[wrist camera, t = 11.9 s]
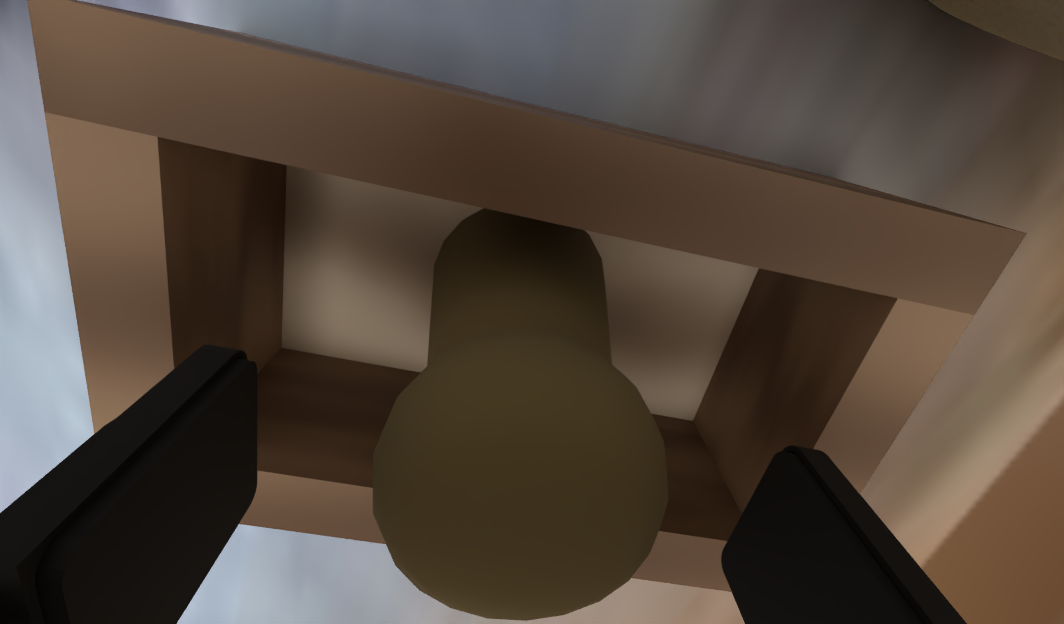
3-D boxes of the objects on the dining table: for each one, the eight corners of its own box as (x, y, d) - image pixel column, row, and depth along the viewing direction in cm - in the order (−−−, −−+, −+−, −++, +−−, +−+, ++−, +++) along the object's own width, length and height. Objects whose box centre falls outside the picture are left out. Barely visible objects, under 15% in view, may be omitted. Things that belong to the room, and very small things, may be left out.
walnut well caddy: (235, 31, 15) (25, -11, 9) (838, 179, 17) (1026, 233, 11) (238, 370, 20) (105, 505, 13) (712, 451, 22) (791, 599, 16)
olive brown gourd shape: (472, 382, 19) (422, 709, 9) (402, 237, 17) (229, 463, 7) (624, 332, 18) (754, 627, 8) (575, 173, 16) (672, 320, 6)
